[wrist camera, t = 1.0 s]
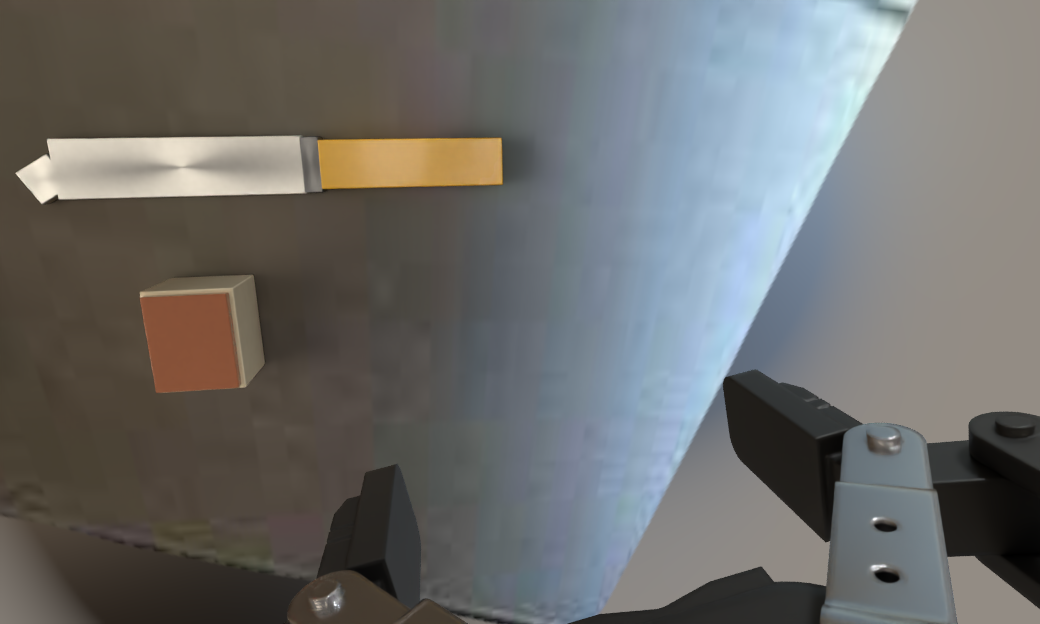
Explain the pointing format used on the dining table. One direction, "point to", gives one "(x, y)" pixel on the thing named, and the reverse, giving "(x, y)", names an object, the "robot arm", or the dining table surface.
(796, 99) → the dining table surface
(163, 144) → the knife
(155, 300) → the salt cellar
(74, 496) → the dining table surface
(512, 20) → the dining table surface
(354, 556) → the robot arm
